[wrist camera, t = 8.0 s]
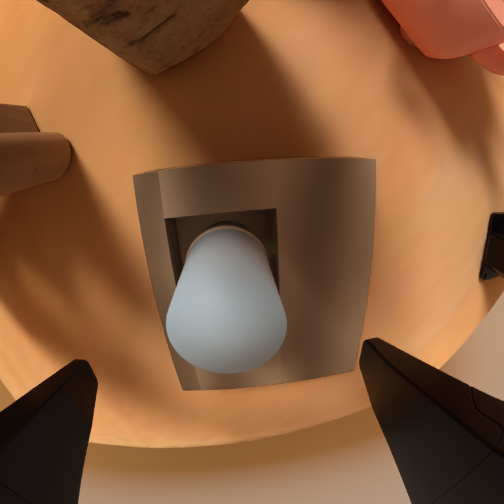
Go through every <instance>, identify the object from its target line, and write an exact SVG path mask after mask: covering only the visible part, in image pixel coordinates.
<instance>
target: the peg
mask: <svg viewBox="0 0 504 504" xmlns="http://www.w3.org/2000/svg"><path fill="white" fill-rule="evenodd" d="M166 330H167V335H168V337H169V340H170V342H171V344H172V346H173V347H174V349H175V350H176V351H177V352H178V354H179V355H180V356H181V357H183V358H184V359H185V360H186V361H188V362H189V363H191V364H192V365H194V366H196V367H198V368H201V369H204V370H207V371H210V372H216V373H239V372H244V371H248V370H251V369H254V368H256V367H258V366H260V365H262V364H263V363H265V362H266V361H268V360H269V359H270V358H271V357H273V356H274V355H275V354H276V352H277V351H278V350H279V348H280V347H281V345H282V343H283V341H284V339H285V335H286V331H287V319H286V315H285V311H284V308H283V305H282V302H281V299H280V296H279V293H278V290H277V287H276V284H275V281H274V278H273V275H272V272H271V269H270V266H269V260H268V256H267V252H266V250H265V248H264V246H263V244H262V243H261V241H260V240H259V239H258V238H257V237H256V236H255V235H254V234H253V233H251V232H250V230H249V229H248V228H246V227H245V226H244V225H242V224H240V223H238V222H234V221H220V222H217V223H214V224H213V225H211V226H209V227H208V228H207V229H206V230H205V231H204V232H202V233H201V234H200V235H199V236H198V237H197V238H196V239H195V240H194V241H193V242H192V244H191V246H190V248H189V250H188V252H187V255H186V260H185V265H184V268H183V270H182V273H181V276H180V278H179V281H178V284H177V287H176V289H175V292H174V295H173V298H172V301H171V304H170V307H169V310H168V313H167V317H166Z"/></svg>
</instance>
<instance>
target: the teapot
mask: <svg viewBox="0 0 504 504" xmlns="http://www.w3.org/2000/svg"><path fill="white" fill-rule="evenodd" d="M381 1H382V2H383V3H384V5H385V6H386V7H387V9H388V10H389V11H390V13H391V14H392V15H393V16H394V18H395V19H396V20H397V21H398V23H399V24H400V25H401V26H400V33H401V35H402V37H403V38H404V40H405V41H406V42H407V43H409V44H410V45H412V46H415V47H418V49H419V50H420V51H421V52H422V53H423V54H424V55H425V56H427V57H431V58H437V59H450V58H457V57H461V56H466V55H470V56H471V57H472V58H473V59H474V60H475V61H476V62H477V63H478V64H480V65H481V66H482V67H484V68H485V69H487V70H489V71H491V72H493V73H496V74H499V75H503V76H504V51H503V50H502V49H501V48H500V47H499V46H498V45H499V44H501V43H504V0H381Z"/></svg>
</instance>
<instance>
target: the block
mask: <svg viewBox="0 0 504 504" xmlns="http://www.w3.org/2000/svg"><path fill="white" fill-rule="evenodd" d="M37 1H38V2H40V3H41V4H43V5H44V6H46V7H48V8H49V9H51V10H53V11H54V12H56V13H58V14H59V15H60V16H61V17H63V18H64V19H65V20H67V21H68V22H69V23H71V24H72V25H74V26H75V27H77V28H78V29H80V30H81V31H83V32H84V33H85V34H87V35H88V36H90V37H91V38H93V39H94V40H96V41H97V42H98V43H100V44H101V45H103V46H104V47H106V48H107V49H109V50H110V51H112V52H113V53H114V54H116V55H117V56H119V57H120V58H122V59H123V60H125V61H126V62H128V63H130V64H131V65H132V66H134V67H136V68H138V69H140V70H142V71H144V72H148V73H152V74H156V73H161V72H163V71H165V70H167V69H169V68H171V67H172V66H174V65H175V64H178V63H180V62H182V61H184V60H186V59H188V58H189V57H191V56H192V55H194V54H196V53H197V52H199V51H201V50H202V49H204V48H205V47H207V46H208V45H209V44H211V43H212V42H213V41H215V40H216V39H217V38H218V37H219V36H221V35H222V34H223V33H224V32H225V31H226V30H227V28H228V27H229V26H230V24H231V23H232V21H233V20H234V18H235V16H236V15H237V13H238V12H239V11H240V10H241V9H242V7H243V6H245V5H246V3H247V2H248V1H249V0H37Z"/></svg>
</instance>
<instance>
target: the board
mask: <svg viewBox="0 0 504 504" xmlns="http://www.w3.org/2000/svg"><path fill="white" fill-rule="evenodd" d="M133 180H134V188H135V195H136V202H137V209H138V215H139V221H140V227H141V233H142V238H143V244H144V249H145V254H146V259H147V264H148V268H149V273H150V278H151V282H152V286H153V291H154V295H155V299H156V303H157V307H158V311H159V314H160V318H161V322H162V326H163V329H164V333H165V336H166V340H167V343H168V346H169V350H170V353H171V356H172V359H173V363H174V366H175V369H176V372H177V375H178V378H179V381H180V384H181V387H182V390H183V391H187V390H217V389H233V388H245V387H256V386H265V385H274V384H282V383H289V382H296V381H302V380H308V379H314V378H320V377H325V376H330V375H335V374H340V373H345V372H350V371H354V369H355V364H356V359H357V355H358V350H359V345H360V339H361V334H362V328H363V322H364V316H365V310H366V303H367V296H368V288H369V280H370V271H371V262H372V251H373V238H374V222H375V196H376V160H375V159H366V158H356V157H292V158H269V159H252V160H238V161H227V162H216V163H206V164H197V165H189V166H181V167H173V168H166V169H159V170H153V171H148V172H144V173H140V174H137V175H133ZM220 221H234V222H238V223H240V224H242V225H244V226H245V227H246V228H248V229H249V230H250V232H251V233H253V234H254V235H255V236H256V237H257V238H258V239H259V240H260V241H261V243H262V244H263V246H264V248H265V250H266V252H267V256H268V260H269V266H270V269H271V272H272V275H273V278H274V281H275V284H276V287H277V290H278V293H279V296H280V299H281V302H282V305H283V308H284V311H285V315H286V319H287V331H286V335H285V339H284V341H283V343H282V345H281V347H280V348H279V350H278V351H277V352H276V354H275V355H274V356H273V357H271V358H270V359H269V360H268V361H266V362H265V363H263V364H262V365H260V366H258V367H256V368H254V369H251V370H248V371H244V372H239V373H216V372H210V371H207V370H204V369H201V368H198V367H196V366H194V365H192V364H191V363H189V362H188V361H186V360H185V359H184V358H183V357H181V356H180V355H179V354H178V352H177V351H176V350H175V349H174V347H173V346H172V344H171V342H170V340H169V337H168V335H167V330H166V317H167V313H168V310H169V307H170V304H171V301H172V298H173V295H174V292H175V289H176V287H177V284H178V281H179V278H180V276H181V273H182V270H183V268H184V265H185V260H186V255H187V252H188V250H189V248H190V246H191V244H192V242H193V241H194V240H195V239H196V238H197V237H198V236H199V235H200V234H201V233H202V232H204V231H205V230H206V229H207V228H208V227H209V226H211V225H213V224H214V223H217V222H220Z"/></svg>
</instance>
